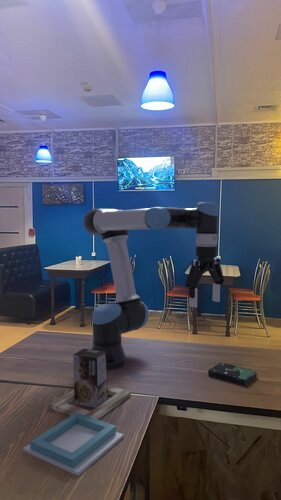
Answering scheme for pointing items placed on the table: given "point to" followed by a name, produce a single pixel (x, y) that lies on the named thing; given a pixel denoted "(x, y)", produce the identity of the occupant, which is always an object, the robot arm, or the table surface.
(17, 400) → the table surface
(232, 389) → the table surface
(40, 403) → the table surface
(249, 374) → the disk drive
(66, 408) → the birch frame
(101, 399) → the coffee box
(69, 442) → the teal white square frame
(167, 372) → the table surface
